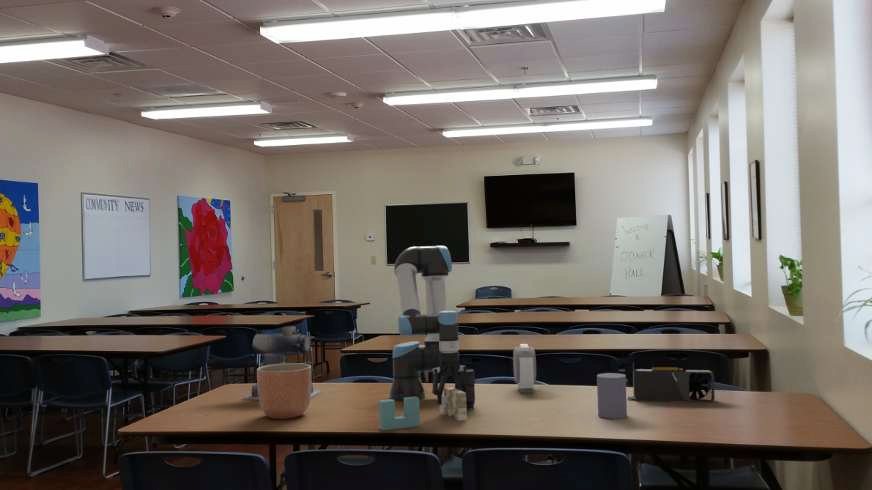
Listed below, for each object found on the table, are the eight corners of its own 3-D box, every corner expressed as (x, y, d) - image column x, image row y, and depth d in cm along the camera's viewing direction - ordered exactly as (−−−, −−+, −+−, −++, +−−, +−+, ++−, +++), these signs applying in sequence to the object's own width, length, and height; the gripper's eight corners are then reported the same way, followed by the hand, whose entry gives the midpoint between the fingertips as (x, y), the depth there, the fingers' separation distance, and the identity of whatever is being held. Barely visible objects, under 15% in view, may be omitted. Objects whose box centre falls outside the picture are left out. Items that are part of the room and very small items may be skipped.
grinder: (258, 391, 345) (256, 325, 345) (322, 392, 339) (320, 324, 340) (240, 399, 327) (238, 329, 327) (308, 400, 321) (306, 328, 321)
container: (610, 420, 268) (609, 378, 268) (592, 415, 277) (591, 375, 277) (633, 417, 273) (631, 375, 273) (613, 412, 282) (612, 372, 282)
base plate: (382, 430, 263) (381, 402, 263) (379, 428, 266) (379, 400, 266) (419, 425, 268) (419, 398, 268) (416, 424, 271) (416, 396, 271)
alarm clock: (537, 393, 320) (535, 346, 320) (517, 394, 320) (516, 347, 320) (532, 386, 338) (531, 341, 338) (513, 386, 338) (512, 342, 338)
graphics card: (627, 401, 301) (627, 365, 301) (627, 398, 305) (627, 363, 306) (714, 403, 293) (714, 367, 293) (713, 401, 297) (712, 365, 297)
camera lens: (474, 410, 292) (472, 371, 292) (453, 409, 293) (452, 371, 293) (477, 405, 300) (475, 368, 300) (457, 405, 301) (456, 368, 301)
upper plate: (444, 413, 287) (443, 387, 287) (452, 412, 289) (451, 386, 289) (458, 420, 274) (458, 393, 274) (466, 419, 276) (466, 392, 276)
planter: (253, 414, 297) (252, 366, 297) (305, 408, 305) (304, 361, 305) (263, 424, 278) (262, 373, 278) (318, 418, 286) (316, 368, 286)
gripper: (428, 354, 279) (430, 416, 279) (476, 350, 286) (478, 411, 286) (421, 352, 286) (423, 412, 286) (468, 348, 293) (470, 407, 293)
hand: (450, 411), depth 286 cm, fingers open, 6 cm apart
